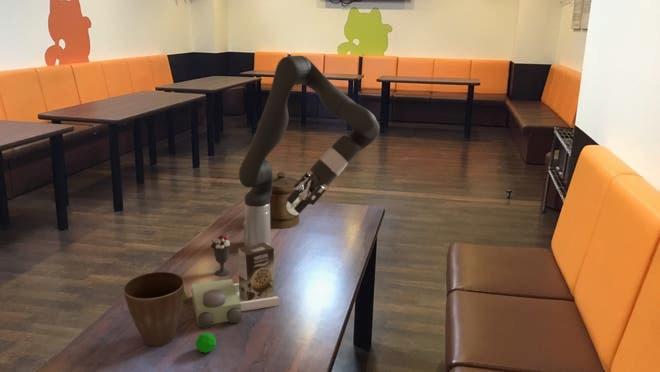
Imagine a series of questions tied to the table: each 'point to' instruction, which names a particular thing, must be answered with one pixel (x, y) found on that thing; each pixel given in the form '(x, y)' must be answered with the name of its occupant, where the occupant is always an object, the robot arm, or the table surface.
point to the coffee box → (256, 272)
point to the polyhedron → (205, 342)
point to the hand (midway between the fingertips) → (292, 206)
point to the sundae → (221, 253)
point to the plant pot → (155, 305)
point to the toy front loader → (223, 302)
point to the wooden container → (283, 202)
